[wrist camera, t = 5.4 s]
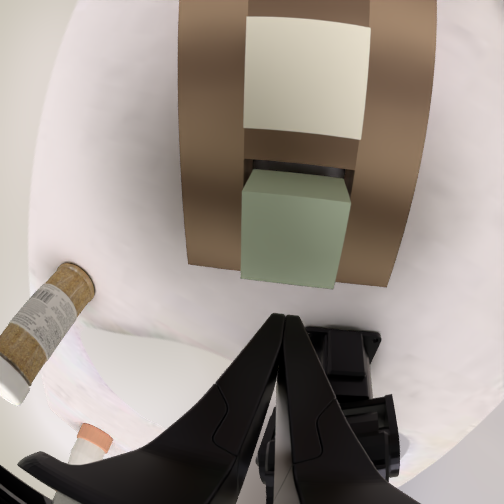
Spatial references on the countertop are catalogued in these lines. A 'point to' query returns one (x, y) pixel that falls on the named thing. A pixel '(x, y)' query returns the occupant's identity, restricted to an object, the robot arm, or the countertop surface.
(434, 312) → the countertop surface
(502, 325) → the countertop surface
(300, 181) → the sage key
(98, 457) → the pepper shaker
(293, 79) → the cream key
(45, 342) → the sprinkles bottle
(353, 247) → the wooden tray
